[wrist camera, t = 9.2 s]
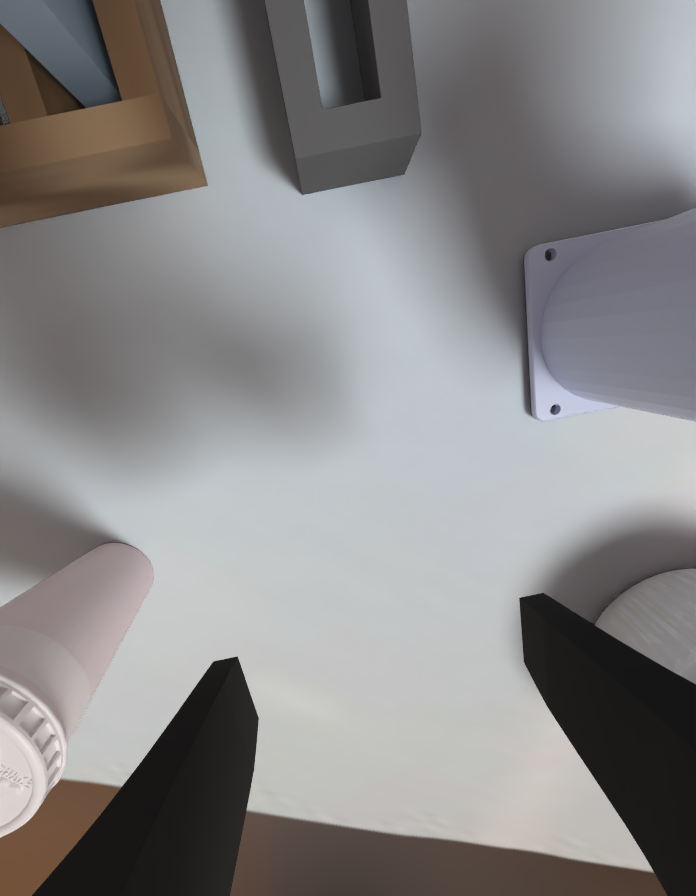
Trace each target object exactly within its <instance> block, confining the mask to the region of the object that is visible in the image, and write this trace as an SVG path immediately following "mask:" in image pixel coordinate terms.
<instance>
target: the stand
mask: <svg viewBox="0 0 696 896" xmlns="http://www.w3.org/2000/svg"><path fill="white" fill-rule="evenodd" d="M264 2H265V7H266V12H267V17H268V22H269V27H270V33H271V38H272V43H273V48H274V53H275V58H276V63H277V68H278V73H279V79H280V84H281V89H282V94H283V99H284V104H285V109H286V114H287V119H288V125H289V130H290V135H291V140H292V145H293V150H294V155H295V160H296V165H297V171H298V176H299V181H300V186H301V191H302V195H304V194H309V193H314V192H319V191H324V190H328V189H333V188H338V187H343V186H348V185H353V184H358V183H363V182H368V181H373V180H378V179H383V178H388V177H393V176H398V175H403V174H404V173H405V171H406V169H407V166H408V164H409V161H410V159H411V157H412V154H413V152H414V150H415V147H416V145H417V142H418V140H419V138H420V135H421V126H420V117H419V108H418V99H417V90H416V81H415V72H414V63H413V54H412V45H411V36H410V27H409V18H408V9H407V0H350V2H351V9H352V15H353V22H354V29H355V36H356V43H357V50H358V57H359V64H360V71H361V78H362V85H363V92H364V98H365V101H364V102H359V103H354V104H349V105H344V106H339V107H334V108H330V109H325V110H323V109H322V104H321V98H320V92H319V86H318V80H317V75H316V69H315V63H314V57H313V51H312V46H311V40H310V34H309V28H308V22H307V17H306V11H305V5H304V0H264Z"/></svg>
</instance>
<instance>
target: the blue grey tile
mask: <svg viewBox="0 0 696 896" xmlns="http://www.w3.org/2000/svg"><path fill="white" fill-rule="evenodd" d="M0 24H1V25H2V26H3V27H4V28H5V29H6V30H7V31H8V32H9V33H10V34H12V35H13V36H14V37H15V38H16V39H17V40H18V41H19V42H20V43H21V44H22V45H23V46H24V47H25V48H26V49H27V50H28V51H29V52H30V53H31V54H32V55H33V56H34V57H35V58H36V59H37V60H38V61H39V62H40V63H41V64H42V65H43V66H44V67H45V68H46V69H47V70H48V71H49V72H50V73H51V74H52V75H53V76H54V77H55V78H56V79H57V80H58V81H59V82H60V83H61V84H62V85H63V86H64V87H65V88H66V89H67V90H68V91H69V92H70V93H71V94H72V95H73V96H74V97H75V98H77V99H78V100H79V101H80V102H81V103H82V104H83V105H84V106H85V107H86V108H89V107H94V106H99V105H104V104H109V103H114V102H119V101H122V98H121V95H120V92H119V88H118V85H117V81H116V78H115V75H114V71H113V68H112V65H111V61H110V58H109V55H108V51H107V48H106V44H105V41H104V38H103V34H102V31H101V28H100V24H99V21H98V18H97V14H96V11H95V7H94V4H93V1H92V0H0Z"/></svg>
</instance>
